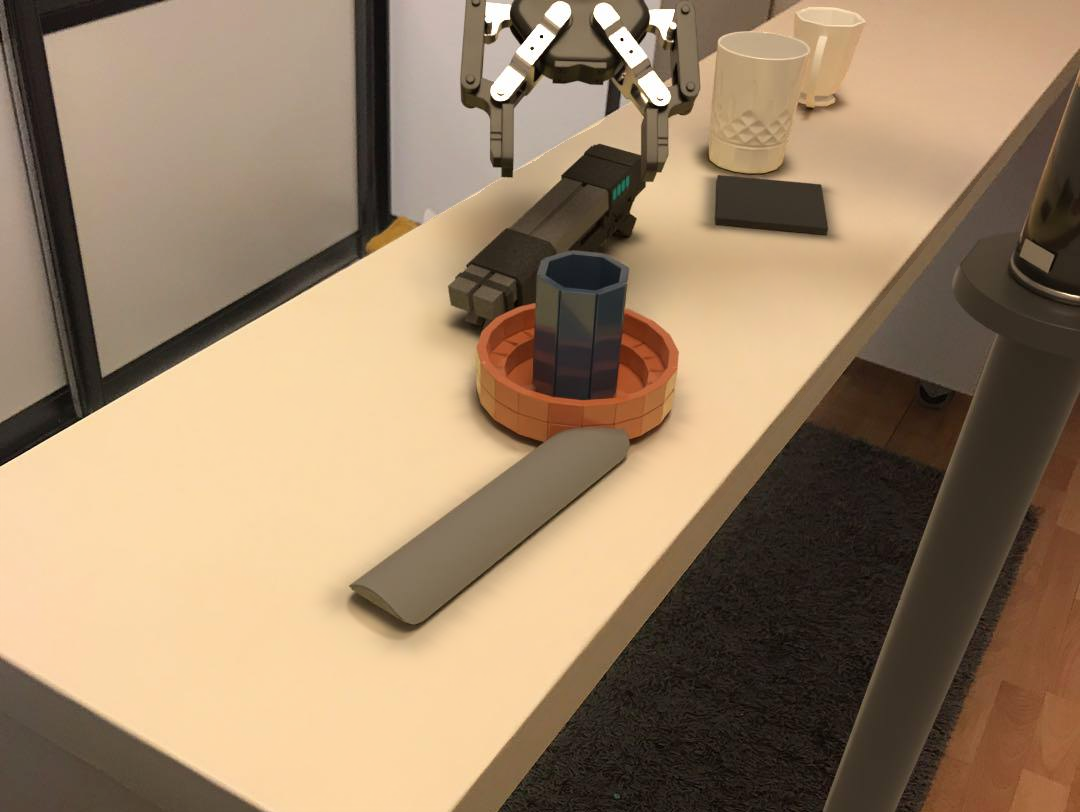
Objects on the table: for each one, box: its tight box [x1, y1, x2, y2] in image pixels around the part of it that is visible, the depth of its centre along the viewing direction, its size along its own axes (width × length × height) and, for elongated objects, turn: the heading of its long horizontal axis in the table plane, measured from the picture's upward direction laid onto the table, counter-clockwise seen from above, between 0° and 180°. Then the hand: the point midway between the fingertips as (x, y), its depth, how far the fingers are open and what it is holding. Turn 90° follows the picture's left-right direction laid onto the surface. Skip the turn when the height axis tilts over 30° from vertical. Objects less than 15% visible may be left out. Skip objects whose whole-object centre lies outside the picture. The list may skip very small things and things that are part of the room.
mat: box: [715, 174, 829, 236], centre depth 90 cm, size 9×9×1 cm
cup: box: [793, 6, 867, 109], centre depth 107 cm, size 7×10×8 cm
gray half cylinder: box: [348, 427, 631, 625], centre depth 57 cm, size 4×20×2 cm, turn 142°
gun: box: [447, 143, 647, 329], centre depth 78 cm, size 4×20×10 cm, turn 147°
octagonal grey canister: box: [532, 250, 630, 400], centre depth 64 cm, size 5×5×8 cm
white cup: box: [708, 30, 810, 174], centre depth 94 cm, size 8×8×10 cm
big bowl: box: [475, 302, 680, 443], centre depth 66 cm, size 12×12×4 cm
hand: (578, 174), depth 64 cm, fingers open, 8 cm apart
